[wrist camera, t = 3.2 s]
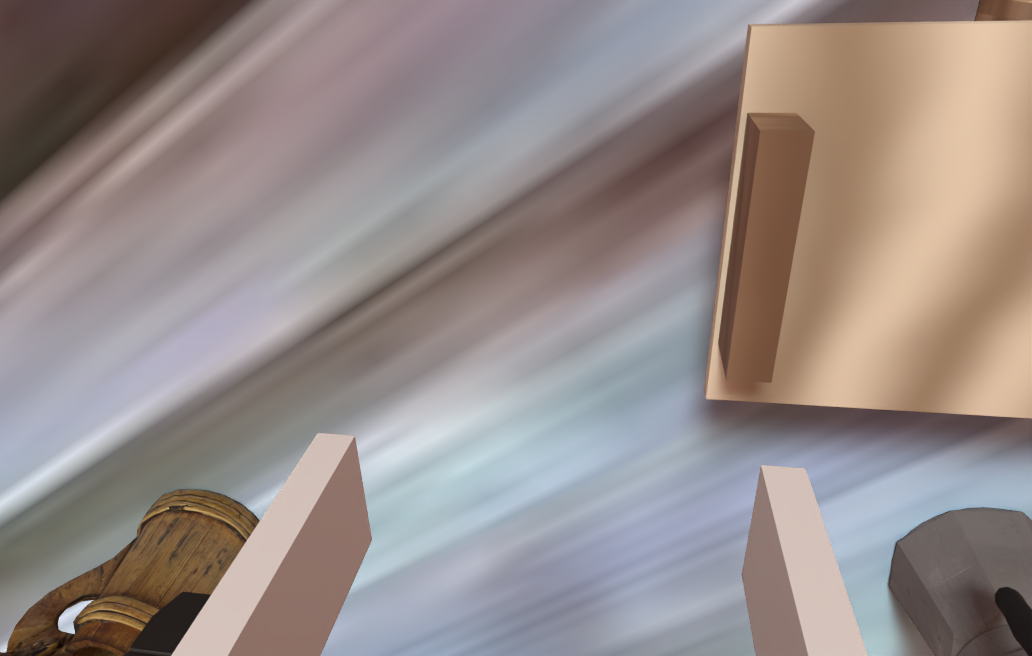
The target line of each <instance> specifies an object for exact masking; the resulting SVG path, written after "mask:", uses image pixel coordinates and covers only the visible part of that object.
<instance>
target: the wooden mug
mask: <svg viewBox="0 0 1032 656" xmlns="http://www.w3.org/2000/svg"><path fill="white" fill-rule="evenodd" d="M258 523H259V521H258V520H257V519H256V517H255V516H254V515H253V514H252V513H251V512H250V511H248V510H247V509H246V508H245V507H244V506H242V505H241V504H240V503H238V502H236V501H234V500H232V499H230V498H228V497H226V496H224V495H221V494H217V493H214V492H210V491H205V490H176V491H173V492H170V493H167V494H164V495H162V496H161V497H160V498H159V499H158V500H157V501H156V502H155V503H154V504H153V505H152V507H151V508H150V509H149V511H148V512H147V513H146V515H145V516H144V518H143V520H142V522H141V523H140V525H139V527H138V529H137V537H136V538H135V539H134V540H133V541H132V542H131V543H130V544H128V545H127V546H126V547H125V548H124V549H123V550H122V551H121V552H119V553H118V554H117V555H116V556H115V557H114V558H112V559H110V560H109V561H107V562H105V563H103V564H102V565H100V566H98V567H96V568H94V569H92V570H90V571H88V572H86V573H84V574H82V575H80V576H78V577H76V578H74V579H72V580H70V581H69V582H67V583H65V584H63V585H62V586H60V587H58V588H56V589H54V590H53V591H51V592H49V593H48V594H47V595H45V596H44V597H43V598H42V599H41V600H39V601H38V602H37V603H36V604H34V605H33V606H32V607H31V608H30V609H29V610H28V611H27V612H26V613H25V615H24V616H23V617H22V618H21V620H20V621H19V622H18V623H17V625H16V626H15V628H14V630H13V633H12V635H11V637H10V639H9V641H8V647H7V652H6V653H1V652H0V656H124V654H125V653H128V652H129V651H130V646H131V645H132V643H133V642H134V641H135V639H136V638H137V636H138V635H139V634H140V632H141V631H142V630H143V628H144V627H145V625H146V624H147V623H148V621H149V620H150V619H151V617H152V616H153V615H154V614H156V613H157V612H158V611H159V610H161V609H162V608H163V607H164V606H165V605H167V604H168V603H169V602H170V601H172V600H173V599H174V598H175V597H177V596H178V595H179V594H180V593H181V592H192V593H201V594H212V593H213V591H214V590H215V588H216V587H217V585H218V584H219V582H220V581H221V579H222V578H223V576H224V575H225V573H226V572H227V570H228V569H229V567H230V566H231V564H232V563H233V561H234V560H235V558H236V557H237V555H238V554H239V552H240V550H241V549H242V547H243V546H244V544H245V543H246V541H247V540H248V538H249V537H250V535H251V534H252V532H253V531H254V529H255V528H256V526H257V525H258ZM88 600H94V601H92V602H91V603H90V604H88V605H87V606H86V607H85V608H84V609H83V610H82V611H81V612H80V614H79V615H78V616H77V617H76V619H75V620H74V622H73V623H74V629H75V634H71V633H66V632H62V631H60V630H59V629H58V619H59V617H60V615H61V614H62V613H63V612H64V611H65V610H66V609H67V608H69V607H71V606H73V605H75V604H77V603H79V602H81V601H88Z"/></svg>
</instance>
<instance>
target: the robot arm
mask: <svg viewBox="0 0 1032 656" xmlns="http://www.w3.org/2000/svg"><path fill="white" fill-rule="evenodd" d="M371 541H372V537H371V531H370V525H369V519H368V513H367V507H366V501H365V494H364V488H363V482H362V476H361V470H360V464H359V458H358V452H357V446H356V440H355V436H350V435H336V434H322V433H318V434H317V435H316V437H315V438H314V440H313V441H312V443H311V444H310V446H309V447H308V449H307V450H306V452H305V453H304V455H303V456H302V458H301V459H300V461H299V462H298V464H297V465H296V467H295V469H294V470H293V472H292V473H291V475H290V476H289V478H288V479H287V481H286V482H285V484H284V485H283V487H282V488H281V490H280V491H279V493H278V494H277V496H276V497H275V499H274V500H273V502H272V503H271V505H270V506H269V508H268V509H267V511H266V513H265V514H264V516H263V517H262V519H261V520H260V522H259V523H258V525H257V526H256V528H255V529H254V531H253V532H252V534H251V535H250V537H249V538H248V540H247V541H246V543H245V544H244V546H243V547H242V549H241V550H240V552H239V554H238V555H237V557H236V558H235V560H234V561H233V563H232V564H231V566H230V567H229V569H228V570H227V572H226V573H225V575H224V576H223V578H222V579H221V581H220V582H219V584H218V585H217V587H216V588H215V590H214V591H213V593H212V594H201V593H192V592H181V593H180V594H179V595H178V596H177V597H175V598H174V599H173V600H172V601H170V602H169V603H168V604H167V605H165V606H164V607H163V608H162V609H161V610H159V611H158V612H157V613H156V614H154V615H153V616H152V617H151V619H150V620H149V621H148V623H147V624H146V625H145V627H144V628H143V630H142V631H141V632H140V634H139V635H138V636H137V638H136V639H135V641H134V642H133V643H132V645H131V646H130V651H129V652H128V653H125V654H124V656H320V655H321V653H322V651H323V648H324V646H325V644H326V642H327V639H328V637H329V635H330V633H331V630H332V628H333V626H334V624H335V621H336V619H337V617H338V615H339V612H340V610H341V608H342V606H343V604H344V601H345V599H346V597H347V595H348V592H349V590H350V588H351V586H352V583H353V581H354V579H355V577H356V574H357V572H358V570H359V568H360V565H361V563H362V561H363V559H364V557H365V554H366V552H367V550H368V548H369V545H370V543H371ZM742 579H743V585H744V590H745V596H746V602H747V608H748V613H749V619H750V625H751V631H752V637H753V642H754V648H755V654H756V656H868V655H867V652H866V649H865V646H864V643H863V640H862V637H861V634H860V631H859V628H858V625H857V622H856V619H855V616H854V613H853V610H852V607H851V604H850V601H849V598H848V595H847V592H846V589H845V586H844V583H843V580H842V577H841V574H840V571H839V568H838V565H837V562H836V559H835V556H834V553H833V550H832V547H831V544H830V541H829V538H828V534H827V531H826V528H825V525H824V522H823V519H822V516H821V513H820V510H819V507H818V504H817V501H816V498H815V495H814V492H813V489H812V486H811V483H810V480H809V477H808V474H807V471H806V468H792V467H779V466H765V465H761V469H760V474H759V480H758V486H757V491H756V497H755V503H754V508H753V514H752V519H751V525H750V531H749V536H748V542H747V548H746V553H745V559H744V565H743V570H742Z"/></svg>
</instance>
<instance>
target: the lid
mask: <svg viewBox="0 0 1032 656" xmlns="http://www.w3.org/2000/svg"><path fill="white" fill-rule="evenodd" d="M704 390H705V396H706V399H715V400H732V401H749V402H765V403H782V404H799V405H815V406H832V407H849V408H866V409H882V410H899V411H916V412H932V413H949V414H966V415H983V416H999V417H1016V418H1032V20H1025V21H955V22H886V23H816V24H748V30H747V38H746V47H745V55H744V63H743V72H742V80H741V88H740V96H739V105H738V113H737V121H736V130H735V138H734V146H733V155H732V163H731V171H730V180H729V188H728V196H727V204H726V213H725V221H724V229H723V238H722V246H721V254H720V263H719V271H718V279H717V287H716V296H715V304H714V312H713V321H712V329H711V337H710V346H709V354H708V362H707V370H706V379H705V387H704Z"/></svg>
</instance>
